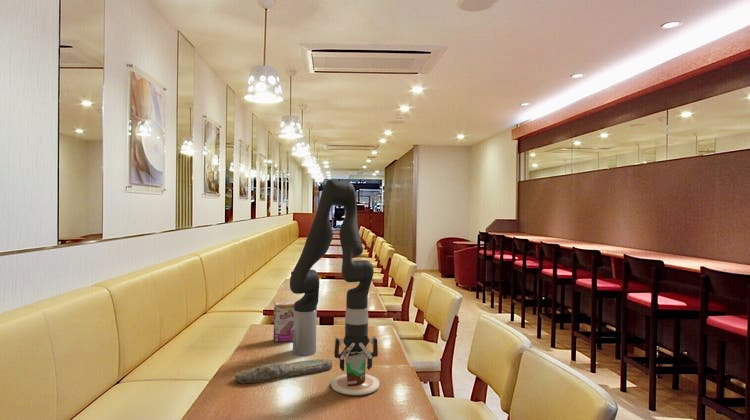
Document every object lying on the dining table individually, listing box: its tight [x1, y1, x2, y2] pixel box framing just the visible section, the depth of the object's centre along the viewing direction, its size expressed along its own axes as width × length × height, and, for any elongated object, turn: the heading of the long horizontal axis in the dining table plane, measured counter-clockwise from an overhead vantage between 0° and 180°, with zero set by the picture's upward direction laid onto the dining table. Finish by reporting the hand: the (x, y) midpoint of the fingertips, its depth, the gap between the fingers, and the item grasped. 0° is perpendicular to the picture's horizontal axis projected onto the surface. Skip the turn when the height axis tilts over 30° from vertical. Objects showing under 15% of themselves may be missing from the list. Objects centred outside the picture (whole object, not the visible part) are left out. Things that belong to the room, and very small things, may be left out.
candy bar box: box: [272, 301, 296, 343], centre depth 195 cm, size 11×5×16 cm, turn 106°
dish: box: [330, 373, 380, 396], centre depth 147 cm, size 16×16×2 cm
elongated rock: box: [234, 358, 333, 384], centre depth 157 cm, size 35×5×10 cm
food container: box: [344, 351, 368, 386], centre depth 147 cm, size 12×6×10 cm, turn 172°
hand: (355, 369), depth 147 cm, fingers open, 8 cm apart
